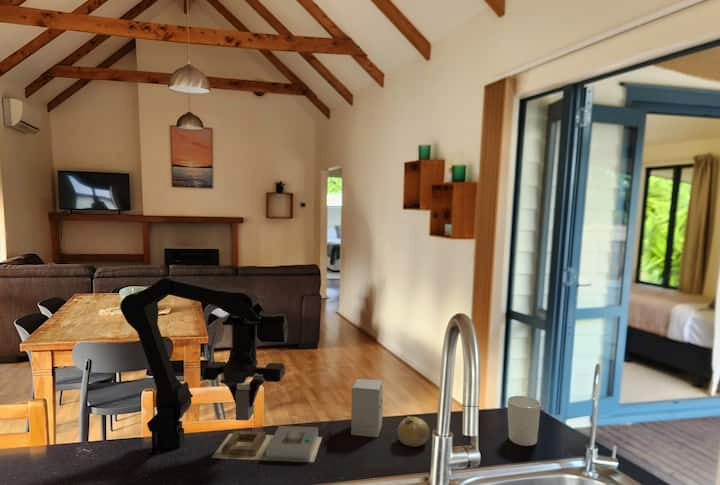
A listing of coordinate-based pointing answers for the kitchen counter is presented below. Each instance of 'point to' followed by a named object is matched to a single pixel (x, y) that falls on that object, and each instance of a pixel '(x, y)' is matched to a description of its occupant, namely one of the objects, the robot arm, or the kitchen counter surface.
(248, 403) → the plug
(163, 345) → the robot arm
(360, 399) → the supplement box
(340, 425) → the kitchen counter surface
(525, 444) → the white cup
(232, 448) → the brown rectangular frame
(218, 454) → the board
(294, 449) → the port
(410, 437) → the onion
